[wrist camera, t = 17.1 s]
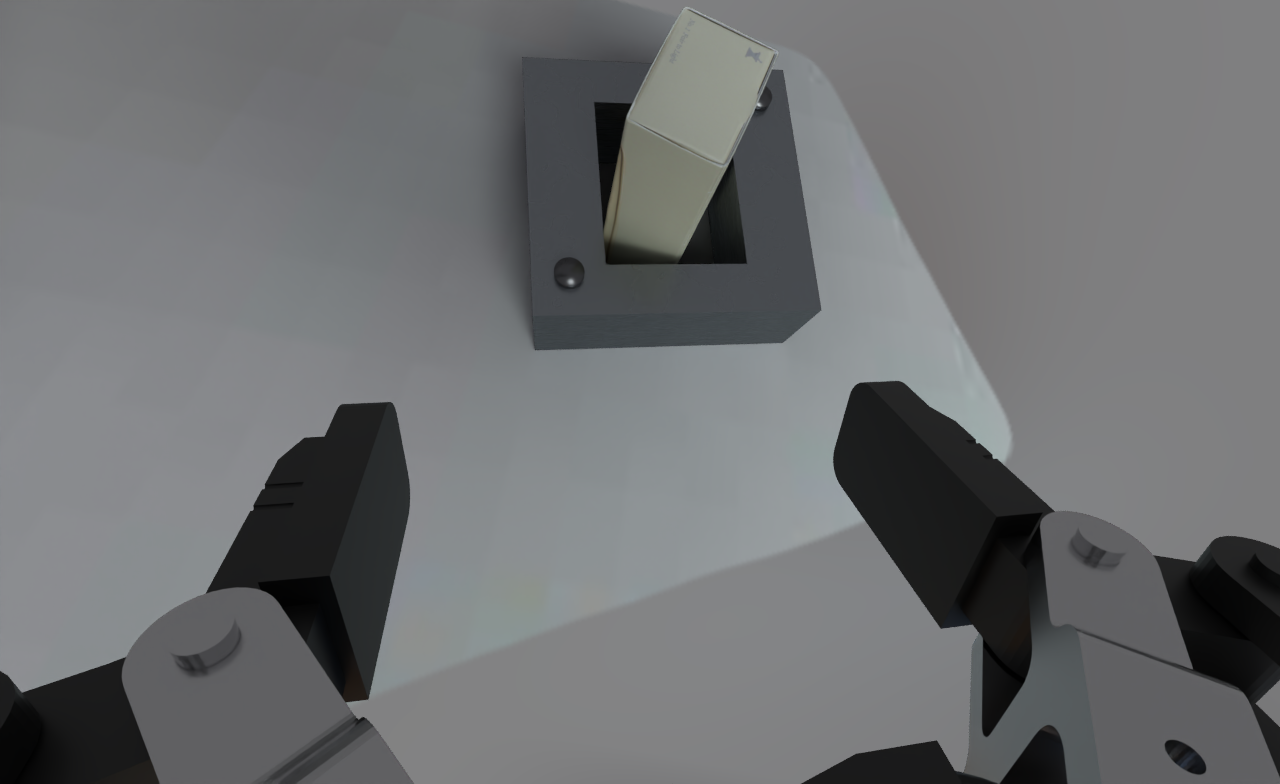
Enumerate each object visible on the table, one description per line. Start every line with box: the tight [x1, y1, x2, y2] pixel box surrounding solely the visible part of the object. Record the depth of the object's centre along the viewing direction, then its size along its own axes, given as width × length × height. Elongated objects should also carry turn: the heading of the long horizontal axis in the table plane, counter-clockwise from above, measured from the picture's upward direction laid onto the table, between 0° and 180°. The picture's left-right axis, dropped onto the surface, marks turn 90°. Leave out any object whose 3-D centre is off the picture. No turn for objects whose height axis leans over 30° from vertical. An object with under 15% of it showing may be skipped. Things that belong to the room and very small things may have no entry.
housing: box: [522, 57, 821, 350], centre depth 32 cm, size 14×14×5 cm
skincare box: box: [603, 7, 778, 265], centre depth 29 cm, size 6×4×12 cm
